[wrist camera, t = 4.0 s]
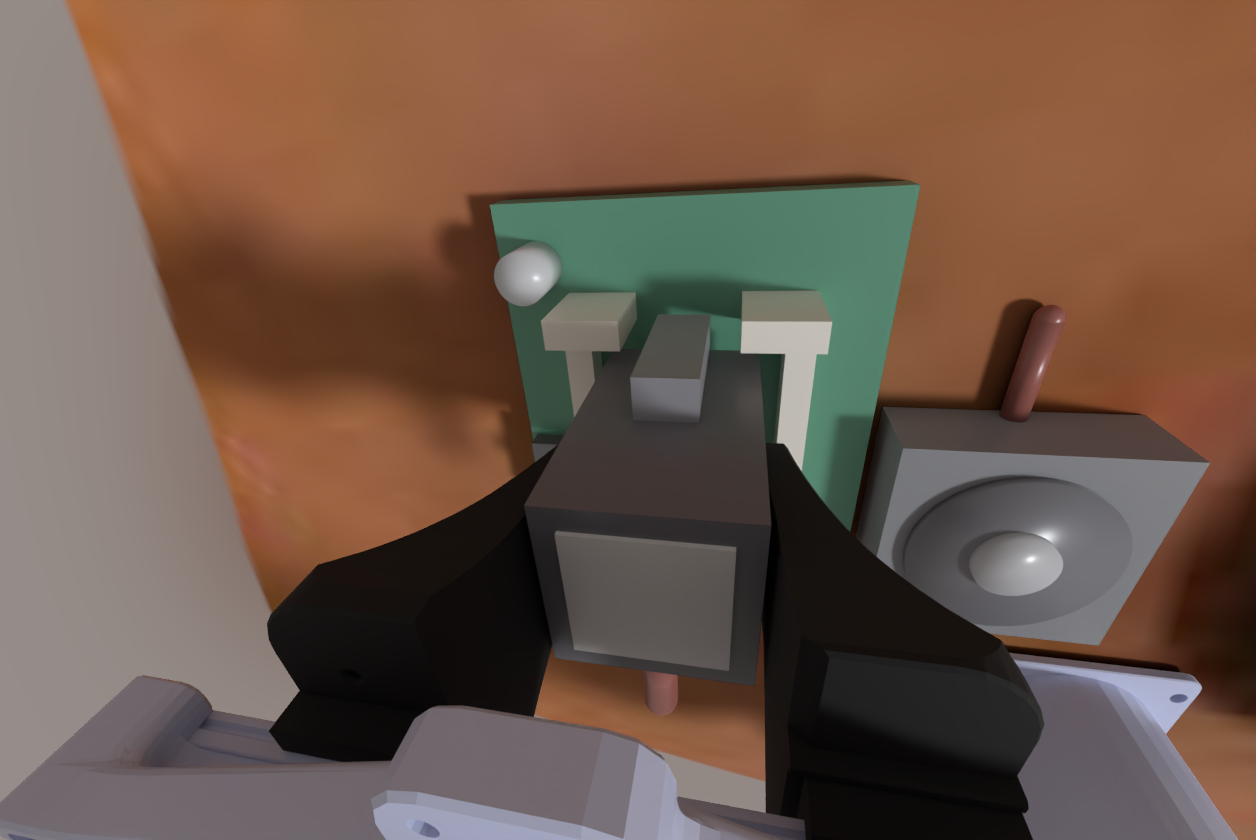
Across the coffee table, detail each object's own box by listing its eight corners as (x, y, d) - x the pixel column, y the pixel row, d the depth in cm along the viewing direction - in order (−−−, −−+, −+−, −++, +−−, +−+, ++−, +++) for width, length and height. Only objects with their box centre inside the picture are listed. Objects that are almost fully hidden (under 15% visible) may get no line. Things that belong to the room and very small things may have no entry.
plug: (745, 540, 17) (746, 769, 11) (628, 530, 18) (569, 738, 12) (761, 314, 13) (777, 475, 7) (610, 314, 14) (511, 459, 8)
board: (840, 536, 19) (859, 614, 16) (558, 513, 21) (527, 578, 18) (908, 180, 13) (958, 198, 10) (503, 200, 15) (445, 219, 12)
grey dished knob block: (1058, 586, 18) (1109, 662, 16) (849, 567, 19) (864, 634, 17) (1202, 300, 13) (1315, 344, 10) (904, 302, 14) (939, 341, 12)
